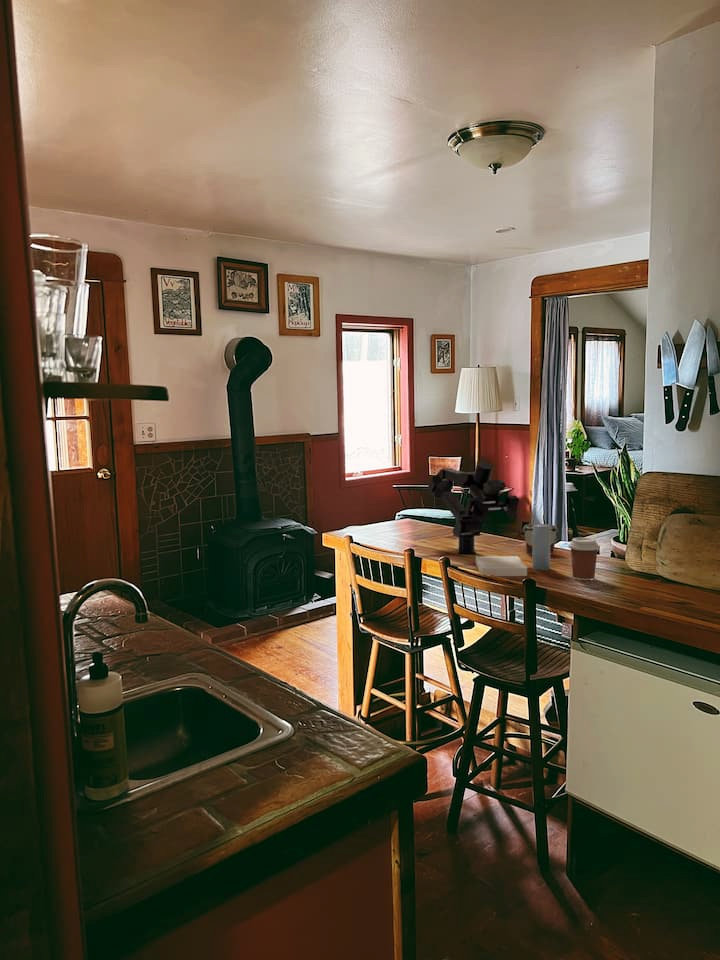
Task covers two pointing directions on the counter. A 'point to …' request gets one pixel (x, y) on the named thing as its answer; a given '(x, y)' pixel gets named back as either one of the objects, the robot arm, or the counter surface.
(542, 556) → the grey pillar
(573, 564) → the coffee cup
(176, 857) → the counter surface
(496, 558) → the shelf board
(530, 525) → the food container
